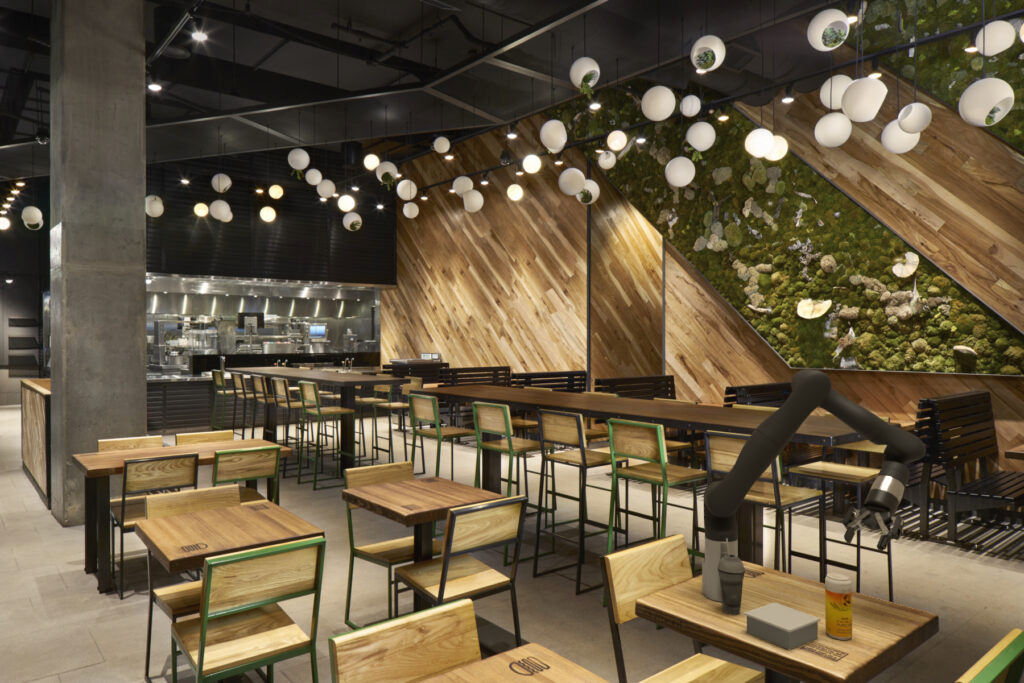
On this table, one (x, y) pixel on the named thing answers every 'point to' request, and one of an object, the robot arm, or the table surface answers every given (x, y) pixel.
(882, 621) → the table surface
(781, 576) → the table surface
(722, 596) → the beverage cup
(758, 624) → the grey square box
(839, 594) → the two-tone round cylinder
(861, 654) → the table surface
